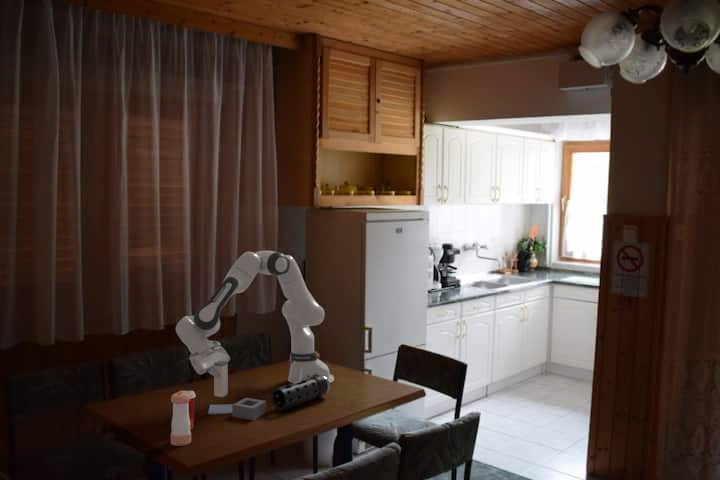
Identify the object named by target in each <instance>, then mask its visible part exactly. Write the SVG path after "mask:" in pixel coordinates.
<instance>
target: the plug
mask: <svg viewBox="0 0 720 480" xmlns="http://www.w3.org/2000/svg"><path fill="white" fill-rule="evenodd" d="M228 364H229V361H228V362H225V361H218V362H215V363H214V365H215V366H214V371H215V372H217V373H219V374H220V377H219V378H217V379H216V378H215V377H214V376H213V386H214V387H213V389H214V390H213V394H214V397H219V398H224V397H225V396H228V394H229V392H228V391H229V390H228V389H229V386H228V385H229V382H228V380H229V379H228V376H229V375H228V374H229V373H228V371H229V368H228V367H229V365H228Z"/></svg>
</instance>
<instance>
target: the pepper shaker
mask: <svg viewBox="0 0 720 480" xmlns="http://www.w3.org/2000/svg"><path fill="white" fill-rule="evenodd" d="M183 391H184V390H179V391H178V392H175V393H173V394H172V395H171V397H170V401H171V403H172V419H171V424H170V425H171V432H170V444H171V445H172V446H176V447H177V446H179V447H181V446H186V445H189V444H190V443H191V442H192V432H191V430H190V419H189V411H188V402H189V401H190V399H191V397H190V395H189V394H188V393H185V392H183Z"/></svg>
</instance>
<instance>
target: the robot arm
mask: <svg viewBox="0 0 720 480" xmlns="http://www.w3.org/2000/svg"><path fill="white" fill-rule="evenodd" d="M258 274H261V275H266V276H268V275H269V276H276V277H277V279H278V283H279V285H280V288H281V289H282V292H283V295H284V297H285V298H286V299H287V300H286V301H285V302H284V303H283V305H282V308H281V313H282V315H283V317H284V318H285V320H286V322H287V325H288V327H289V332H290V338H291V340H290V341H291V344H290V345H291V351H290V353H289V354H290V355H289V363H290V367H289V374H288V378H287V381H288V382H290V384H293V383H296V382H299V381H302V380H305V379H309V378H310V377H313V376H316V375H323V376H325V377H326V378H327V379H328V381H329V384H332V382H333V381H334V382H335V377H334V375H333V374H332V373H330V369H329V366H328V365H327V364H326V363H324V362H323V361H322V360H320V359H319V358H320V354H319V352H317V351H315V335H314V333H313V332H312V330H311V328H310V326H319V325H321V323H322V322H324V319H325V314H326V313H325V309H324V308H323V307H322V306H321V305H319V303H318V302H316V299H315V298H314V297H313V295H312V293H311V292H310V291H309V290H308V287H307V285H306V282H305V280H304V278H303V275H302V272H301V269H300V268H299V266H298V263H297V262H296V260H295V259H294V257H293V256H292V255H289V254H284V253H282V252H279V251H273V250H261V249H260V250H256V251H254V252H253V251H245V252H244V253H242V254H241V255H240V256H239V257H238V259H236V261H235V262H234V263H233V264H232V266H231V268H229V271H228V272H227V274H226V275H225V277H224V279H223V281H222V282H221V284H220V285H219V287H218V288H217V290H215V292H214V293H213V295H212V296H211V297H210V299H209V300H208V301H207V302H206V303H204V304H202V305H201V306H199V307H198V308H196V311H195V313H194V315H185V316H183V317H181V318H180V319H179V320H178V322H177V324H176V325H175V332H176V334H177V336H178V338H179V339H180V341H181V342H182V343H183V344H184V345H185V346H187V348H188V351H189V352H190V355H189V361H190V363H191V366H192V367H193V369H194V371H195V372H196V373H197V375H199V376H200V375H203V374H205V373H209V374H210V375H211V376H212V377H213V378H214V377H215V378H216V379H217V378H219V377H220V374H219V373H217V372H215V371H214V366H215V365H214V363H215V362H218V361H225V362H228V363H229V362H230V361H231V357H230V355H229V354H228V352H227V351H226V350H225V348H224V347H222V346H221V343H220V341H217V340H210V339H208V337H210V336H212V335H215V334H216V333H217V332H218V331H219V330H220V327H221V320H220V314H221V310H222V309H223V308H224V306H225V305H226V304H227V302H228V301H229V300H230V298H231V297H232V296H233V295H235V294H241V293H244V292H245V291H246V290H247V289H248V288H249V286H250V285H251V283H252V282H253V281H254V279H255V277H256V276H257V275H258Z"/></svg>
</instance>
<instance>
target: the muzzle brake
mask: <svg viewBox="0 0 720 480" xmlns="http://www.w3.org/2000/svg"><path fill="white" fill-rule="evenodd" d="M330 385H331V383H329V381H328V379H327V378H326V377H325V376H323V375H316V376H313V377H310V378H309V379H305V380H302V381H299V382H296V383H289V384H287V385H284V386H281V387H278V388H275V389H273V390H272V392H271V396H270V398H271V399H270V400H271V404H272V405H273V407H274V408H275V409H277V411H278V412H283V411H286V410H289V409H291V408H294V407H296V406H300V405H301V404H303V403H305V402H312V401H315V399H317V398H321V397H324V396H326V395H327V393H328V392H329V391H330Z"/></svg>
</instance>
